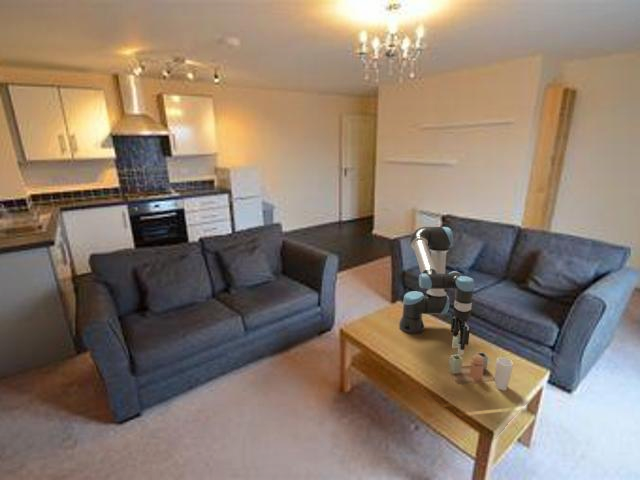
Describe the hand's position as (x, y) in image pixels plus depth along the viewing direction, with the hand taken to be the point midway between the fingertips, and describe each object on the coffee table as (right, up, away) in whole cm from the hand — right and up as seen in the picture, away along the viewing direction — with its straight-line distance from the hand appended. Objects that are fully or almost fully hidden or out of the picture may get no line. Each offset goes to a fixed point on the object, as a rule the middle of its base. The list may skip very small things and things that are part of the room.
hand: (457, 350), depth 166 cm
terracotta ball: (+8, -5, -4) cm, 10 cm away
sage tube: (0, -11, +3) cm, 12 cm away
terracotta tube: (+8, -13, -1) cm, 15 cm away
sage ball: (0, +3, -1) cm, 3 cm away
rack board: (+7, -13, +1) cm, 15 cm away
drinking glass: (+17, -16, -7) cm, 25 cm away
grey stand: (+14, -11, +5) cm, 18 cm away
